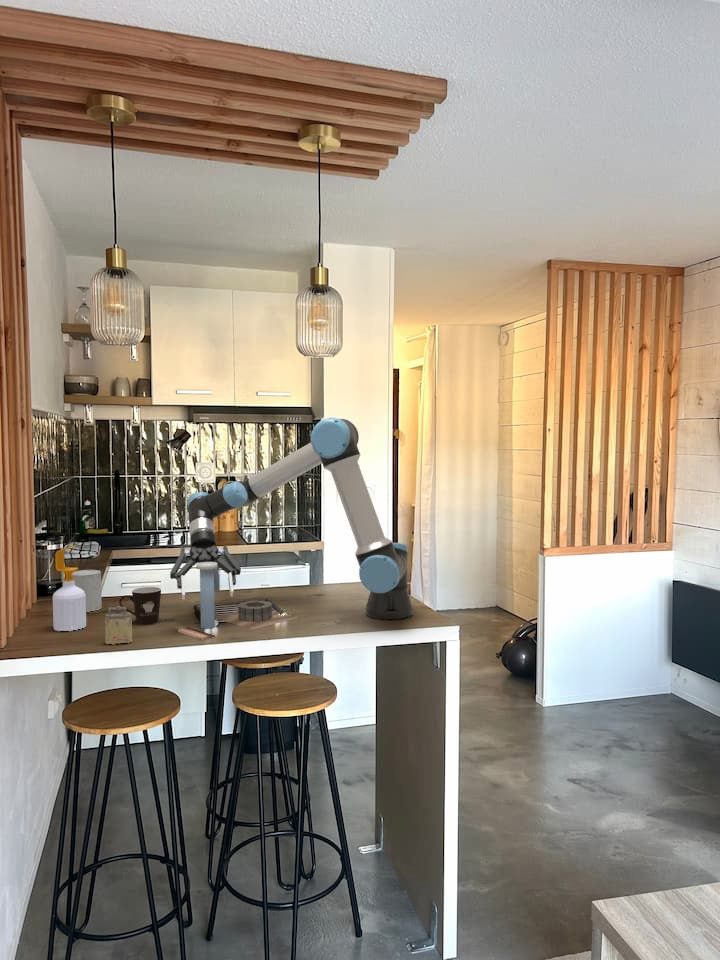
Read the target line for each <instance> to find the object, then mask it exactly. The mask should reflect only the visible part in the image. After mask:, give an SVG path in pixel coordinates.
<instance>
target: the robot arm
mask: <svg viewBox="0 0 720 960" xmlns="http://www.w3.org/2000/svg"><path fill="white" fill-rule="evenodd" d="M358 444H359V432H358V428H357V426H355V424H353V422H351V421H350V420H348V419H345V418H338V417H327V418H325V419H322V420H320V421H319V422H318V423H316V425H314V427H313V429H312V431H311V434H310V442H309V443H307V444H306V445H304V446H302V447H300V448H299V449H297V450H295V451H293V452H291V453H290V454H288V455H286V456H285V457H283V458H282V459H279V460H277V462H274V463H272V464H271V465H269V466H267V467H266V468H263V470H262V469H261V470H260V471H259V472H257V473H255V474H254V475H252V476H250V477H249V478H247V479H245V480H243V481H241V482H240V481H235V480H234V481H233V482H231V483H227V484H225V485H224V486H222V487H221V488H218V489H217V490H215V491H213V492H211V493H207V492H205V491H199V492H193V493H191V495H189V497H188V499H187V509H186V510H187V514H188V527H189V538H190V539H189V543H190V549H185V547H180V554H179V555H178V557H177V560H176V561H175V563H174V565H173V567H172V568H171V571H170V575H169V577H170V579H171V580H173V579H175V580H176V586H177V589H178V590H179V589H181V600H183V601H185V600H186V590H185V587H186V586H185V576H186V574H187V573H188V572H189V571H190V570H191V569H192V568H193V567H194V566H195V565H196V564H197V563H200V562H216V563H217V567H219V568H220V569H221V570H222V571H223V572H224V573H226V574H227V575H228V577H227V580H228V589H229V597H233V596H234V586H235V585H236V584H237V579H236V578H237V577H236V576H238V575H239V576H240V575H241V572H242V571H241V569H242V568H241V566H240V565H239V563H238V562H237V561H236V560H235V559H234V557H233V555H231V553H230V551H229V550H228V546H227V545H223V546H222V547H221V548H218V546H217V541H216V540H217V539H216V532H215V531H216V530H215V523H214V521H215V520H214V519H215V518H218V517H219V516H222V515H224V514H225V513H227V512H229V511H232V510H235V509H239V508H242V507H248V506H250V505H252V504H254V503H255V502H257V500H259V499H260V498H262V497H264V496H266V495H268V494H269V493H271V492H273V491H275V490H277V489H279V488H280V487H282V486H284V485H286V484H288V483H289V482H291V481H292V480H295V479H296V478H298V477H299V476H301V475H303V474H305V473H308V472H309V471H311V470H312V469H315V468H316V467H317V466H319V465H321V464H322V466H323V468H324V469H325V470H326V471H329V472H330V473H331V476H332V478H333V481H334V484H335V488H336V490H337V493H338V495H339V499H340V501H341V503H342V507H343V510H344V513H345V515H346V517H347V520H348V523H349V526H350V529H351V531H352V535H353V537H354V540H355V543H356V545H357V548H356V551H355V557H356V560H357V563H358V566H359V569H358V575H359V576H358V577H359V580H360V582H361V584H362V586H364V588H365V589H366V590H368V591H369V592H370V593H369V596H368V599H367V602H366V604H365V615H366V616H367V617H368V618H371V619H377V620H386V619H394V620H402V619H401V618H404V619H406V618H405V617H408V618H410V617H412V616H413V615H414V607H413V604H412V601H411V597H410V594H409V589H408V587H409V585H408V579H409V578H408V575H409V574H408V573H409V572H408V570H409V569H408V568H409V567H408V565H409V564H408V555H409V550H408V545H407V544H406V543H404V542H393V541H392V540H391V539H389V538H387V537H386V536H385V534H384V532H383V529H382V526H381V523H380V520H379V518H378V515H377V512H376V509H375V507H374V504H373V501H372V498H371V495H370V492H369V490H368V487H367V484H366V482H365V479H364V477H363V473H362V471H361V468H360V465H359V460H360V457H361V452H360V450H359V447H358ZM219 554H220V555H221V556H222V557H223V558H224V559H225V560H223V558H221V557H220V555H219ZM188 556H190V559H189V560H188V561H187V562H186V563H185V564H184V565H183V563H184V560H185V558H187V557H188ZM182 565H183V566H182ZM181 566H182V568H181ZM180 568H181V569H180ZM412 614H413V615H412ZM411 615H412V616H411ZM409 616H410V617H409Z"/></svg>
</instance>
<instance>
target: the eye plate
mask: <svg viewBox="0 0 720 960" xmlns="http://www.w3.org/2000/svg"><path fill="white" fill-rule="evenodd" d="M237 610H238V611H237ZM237 610H236V611H234V612H229V613H225V614H221V615H220V614H219V615H216V616H215V620H219V621H222V622H224V623H228V624H233V625H236V626H238V627H239V626H240V627H243V628H246V629H250V630H257V629H261V628H264V627H267V626H272V625H277V624H279V623H283V622H288V621H291V620H295V619H299V618H300V616H295V615H291V614H287V613H284V614H285V615H284V616H283V615H282V616H281V615H278V614H279V613H281V612H279V611H277V610H273V603H272V602H270V601H265V600H249V601H243V602H240V603H238V605H237Z"/></svg>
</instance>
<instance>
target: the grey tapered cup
mask: <svg viewBox="0 0 720 960" xmlns="http://www.w3.org/2000/svg"><path fill="white" fill-rule="evenodd" d="M72 577H73V578H75V586H77V587H79V588H81V589H82V590H83V591H84V592H85V595H86V612H90V611H95V610H99V609H101V608H102V609H103V607H102V606H103V605H102V604H103V603H102V601H103V600H102V599H103V598H102V571H101V570H98V569H82V570H75V571H73V573H72ZM102 609H101V610H102ZM99 611H100V610H99ZM95 612H96V611H95ZM90 613H91V612H90Z"/></svg>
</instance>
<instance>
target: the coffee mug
mask: <svg viewBox="0 0 720 960" xmlns="http://www.w3.org/2000/svg"><path fill="white" fill-rule="evenodd" d="M131 594H132V595H123V596H122V597H120V599H119V601H118V603H119V606H121V607H124V605H122V601H123V599H125V598H129V599H130V600H131V602H132V603H133V608H134V611H132V610H130V609H128V608H126V612H129V613H131V615H133V616H134V617H135V623H136V624H137V625H141V626H148V625H154V624H157V623H159V618H160V617H159V616H160V606H161V596H162V588H161V587H159V586H142V587H137V588H134V589H131Z"/></svg>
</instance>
